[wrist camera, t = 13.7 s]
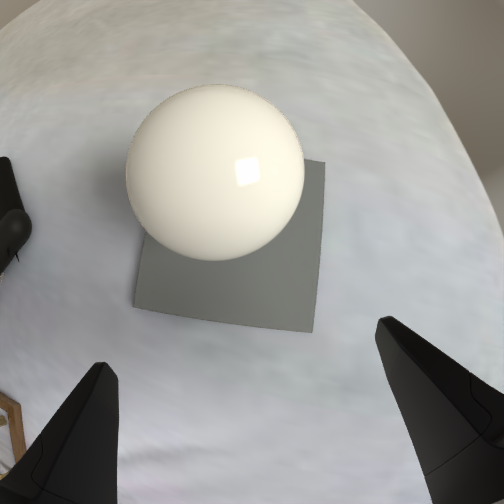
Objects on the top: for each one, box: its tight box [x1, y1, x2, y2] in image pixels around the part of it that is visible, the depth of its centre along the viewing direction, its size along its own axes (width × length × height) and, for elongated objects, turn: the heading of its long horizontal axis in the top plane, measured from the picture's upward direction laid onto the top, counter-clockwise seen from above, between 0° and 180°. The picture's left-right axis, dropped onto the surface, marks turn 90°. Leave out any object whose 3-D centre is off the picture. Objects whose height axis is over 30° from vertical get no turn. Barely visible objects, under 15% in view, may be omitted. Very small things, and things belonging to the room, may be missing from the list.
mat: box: [133, 159, 325, 333], centre depth 18 cm, size 11×11×1 cm
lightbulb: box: [125, 84, 305, 261], centre depth 13 cm, size 6×6×11 cm
